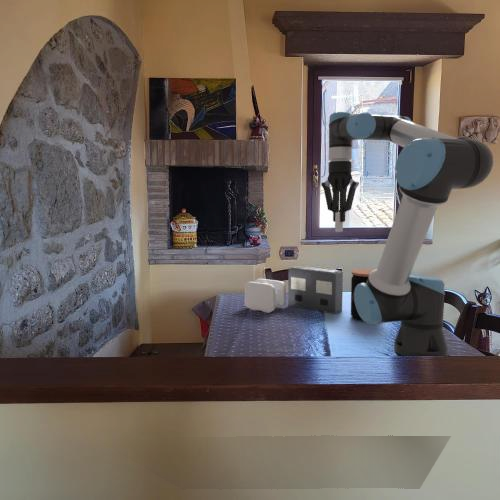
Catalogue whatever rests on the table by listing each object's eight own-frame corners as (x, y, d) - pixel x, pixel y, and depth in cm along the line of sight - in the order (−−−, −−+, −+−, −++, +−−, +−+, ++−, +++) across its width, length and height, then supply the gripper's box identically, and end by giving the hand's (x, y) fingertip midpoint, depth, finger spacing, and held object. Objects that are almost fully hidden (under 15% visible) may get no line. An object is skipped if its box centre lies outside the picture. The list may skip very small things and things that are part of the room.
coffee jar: (347, 320, 168) (348, 272, 165) (354, 313, 177) (355, 268, 175) (376, 323, 163) (377, 275, 160) (382, 316, 172) (383, 270, 170)
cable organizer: (242, 308, 185) (242, 281, 184) (257, 303, 194) (257, 277, 192) (273, 314, 177) (272, 285, 175) (287, 308, 185) (287, 281, 183)
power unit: (334, 313, 176) (335, 273, 174) (287, 305, 189) (287, 267, 187) (342, 310, 181) (342, 270, 179) (295, 302, 194) (296, 265, 192)
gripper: (363, 160, 147) (361, 231, 151) (327, 162, 155) (327, 229, 158) (353, 159, 142) (351, 233, 145) (317, 161, 150) (316, 231, 153)
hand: (338, 231), depth 152 cm, fingers closed
